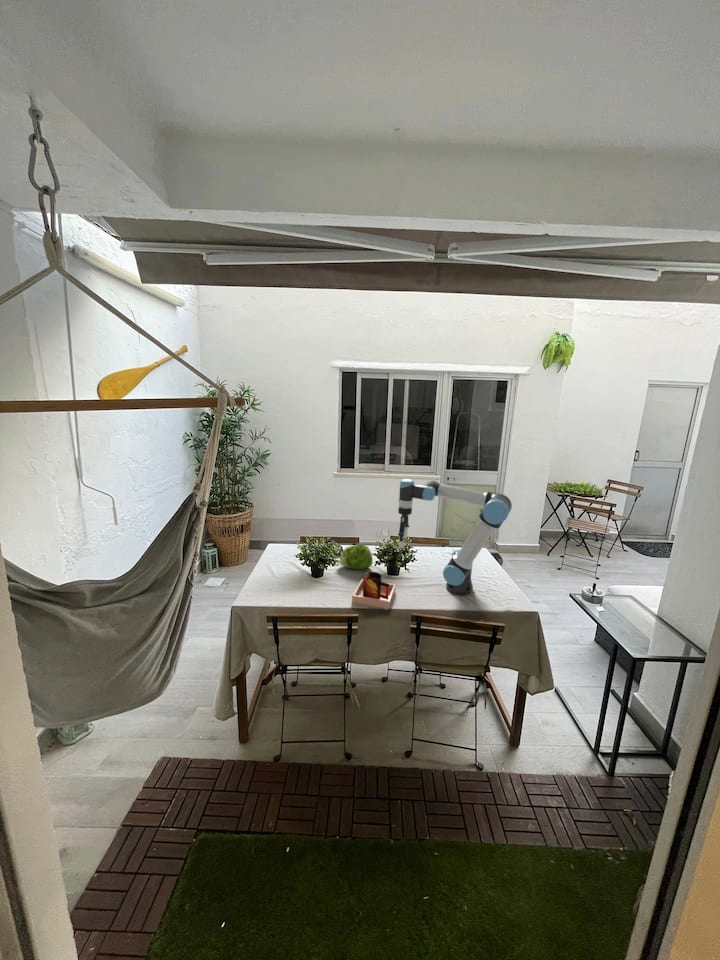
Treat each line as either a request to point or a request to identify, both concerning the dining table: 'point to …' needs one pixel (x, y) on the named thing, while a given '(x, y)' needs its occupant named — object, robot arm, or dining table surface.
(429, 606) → the dining table surface
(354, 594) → the tray
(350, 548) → the lettuce
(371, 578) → the mug
